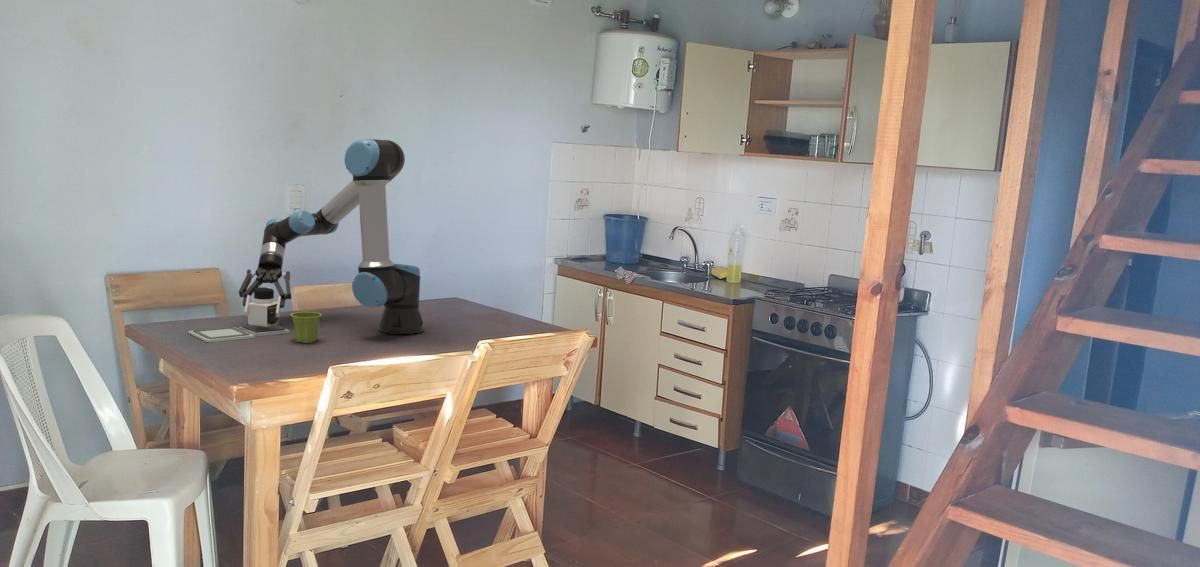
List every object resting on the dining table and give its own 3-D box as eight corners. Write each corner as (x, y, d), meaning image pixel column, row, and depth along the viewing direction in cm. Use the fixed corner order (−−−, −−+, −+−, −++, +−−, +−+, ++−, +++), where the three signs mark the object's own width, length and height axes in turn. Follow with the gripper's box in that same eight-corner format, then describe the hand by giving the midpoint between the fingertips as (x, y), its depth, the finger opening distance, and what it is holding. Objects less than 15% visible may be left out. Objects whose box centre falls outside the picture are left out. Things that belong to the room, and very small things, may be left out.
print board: (254, 337, 293) (254, 334, 293) (206, 342, 282) (206, 339, 282) (234, 329, 303) (234, 325, 303) (187, 333, 293) (187, 330, 293)
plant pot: (292, 345, 286) (293, 317, 285) (287, 338, 295) (288, 312, 293) (323, 343, 291) (324, 316, 290) (318, 337, 299) (318, 311, 298)
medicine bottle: (267, 327, 298) (267, 290, 296) (247, 324, 300) (247, 288, 298) (279, 323, 305) (279, 287, 303) (259, 321, 306) (260, 285, 305)
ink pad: (289, 333, 302) (289, 329, 302) (254, 336, 294) (254, 332, 294) (273, 326, 311) (273, 322, 311) (238, 329, 302) (238, 325, 302)
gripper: (305, 267, 317) (297, 322, 303) (239, 264, 313) (228, 319, 300) (303, 253, 311) (295, 309, 297) (235, 250, 307) (224, 306, 294)
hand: (261, 314), depth 299 cm, fingers closed on medicine bottle, 9 cm apart
